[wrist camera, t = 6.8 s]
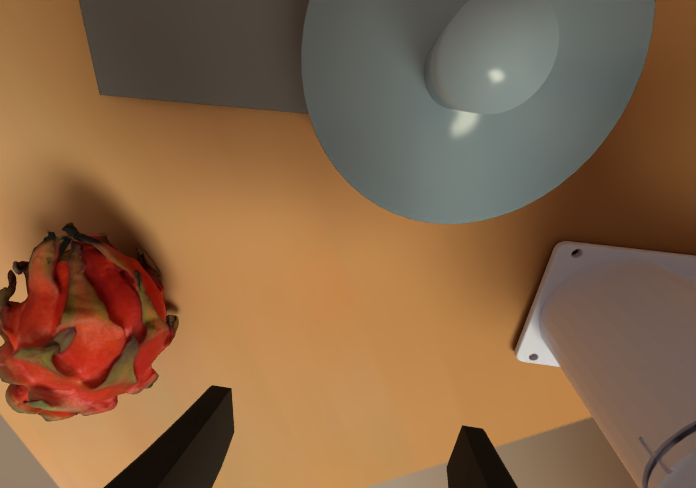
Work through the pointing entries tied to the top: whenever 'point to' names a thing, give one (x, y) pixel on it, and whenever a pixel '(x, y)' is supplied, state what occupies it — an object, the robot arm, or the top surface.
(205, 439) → the robot arm
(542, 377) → the top surface
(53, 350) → the dragon fruit
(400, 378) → the top surface
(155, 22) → the mat
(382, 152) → the lid
